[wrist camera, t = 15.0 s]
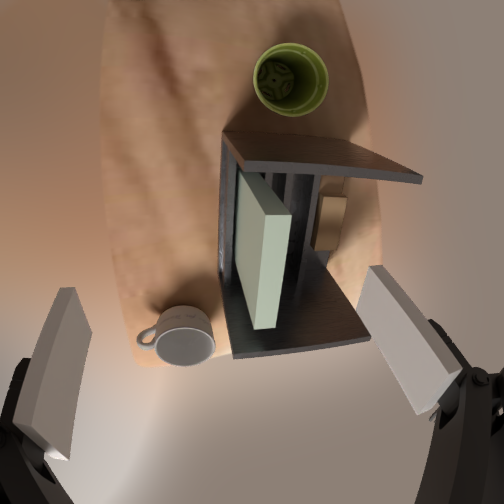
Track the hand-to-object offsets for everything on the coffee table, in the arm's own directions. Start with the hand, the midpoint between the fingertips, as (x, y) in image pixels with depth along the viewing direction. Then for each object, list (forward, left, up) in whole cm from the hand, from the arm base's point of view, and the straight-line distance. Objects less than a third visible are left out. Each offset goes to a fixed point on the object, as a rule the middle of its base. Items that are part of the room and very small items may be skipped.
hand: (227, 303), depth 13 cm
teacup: (+31, -5, -35) cm, 47 cm away
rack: (+9, +13, -34) cm, 38 cm away
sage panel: (+9, +7, -33) cm, 35 cm away
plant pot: (-11, +10, -35) cm, 38 cm away
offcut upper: (+10, +20, -31) cm, 38 cm away
